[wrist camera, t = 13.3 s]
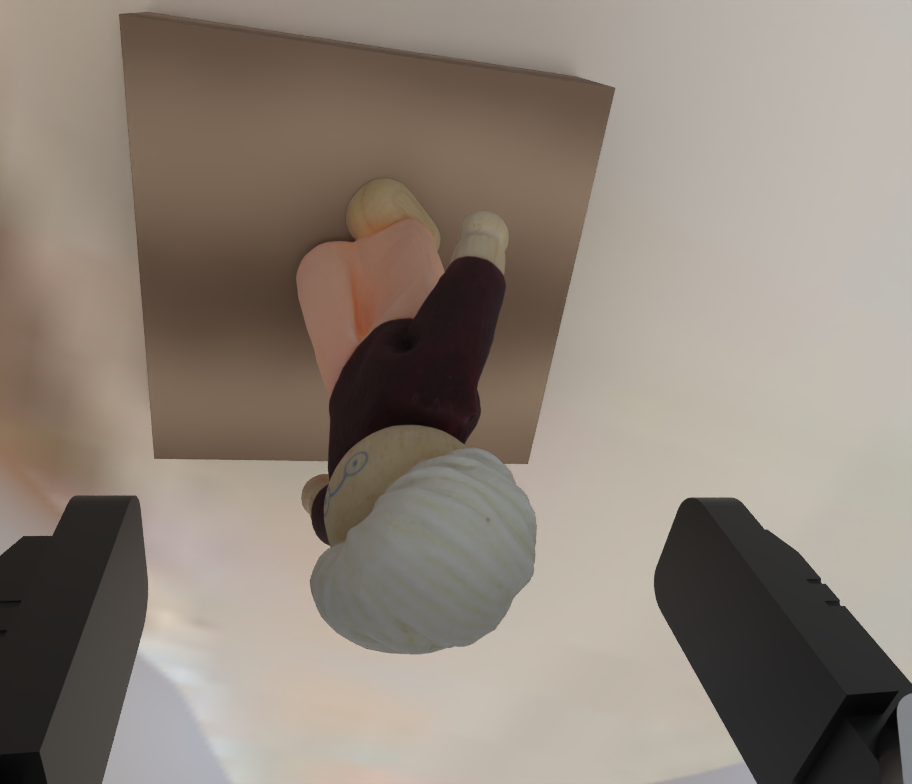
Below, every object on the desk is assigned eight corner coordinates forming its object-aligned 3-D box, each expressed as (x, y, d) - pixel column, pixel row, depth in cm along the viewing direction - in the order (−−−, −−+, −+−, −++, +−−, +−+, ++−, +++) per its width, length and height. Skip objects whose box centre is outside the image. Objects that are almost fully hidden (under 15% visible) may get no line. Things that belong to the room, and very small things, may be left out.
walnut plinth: (147, 12, 18) (119, 13, 15) (577, 76, 21) (614, 87, 18) (171, 408, 23) (154, 458, 21) (506, 418, 26) (527, 463, 24)
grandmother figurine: (335, 117, 17) (376, 321, 6) (476, 167, 18) (711, 409, 8) (265, 379, 20) (211, 814, 9) (389, 407, 21) (466, 820, 11)
